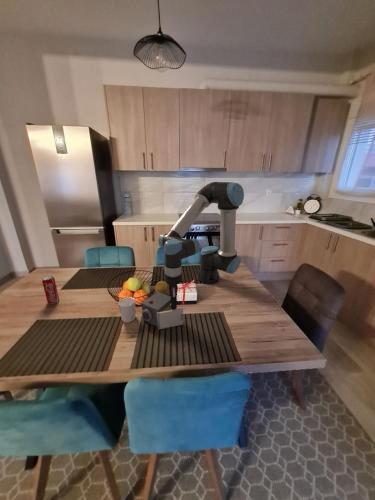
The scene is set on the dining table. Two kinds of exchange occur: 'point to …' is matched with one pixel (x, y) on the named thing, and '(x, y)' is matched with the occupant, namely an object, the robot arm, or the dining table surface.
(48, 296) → the beverage can
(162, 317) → the side door
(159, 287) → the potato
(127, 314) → the white cup
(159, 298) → the camera body
